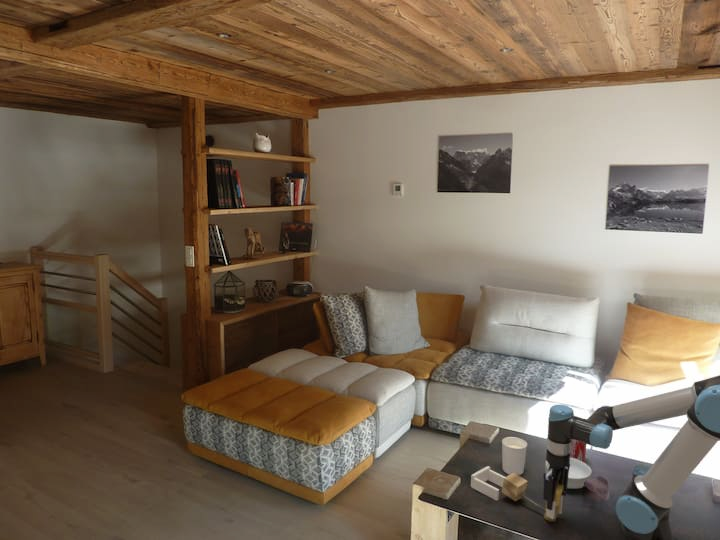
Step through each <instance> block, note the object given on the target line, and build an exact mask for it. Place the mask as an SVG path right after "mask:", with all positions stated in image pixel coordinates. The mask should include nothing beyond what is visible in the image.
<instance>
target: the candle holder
mask: <svg viewBox="0 0 720 540" xmlns="http://www.w3.org/2000/svg"><path fill="white" fill-rule="evenodd" d="M501 448H502V449H501V452H502V453H501V460H502V462H501V463H502V464H501V465H502V467H501V468H502V471H503V472H504V473H506V474H507V475H510V474H512V473H515V474H517V475H518V476H520V475H523V474H524V471H525V464H526V457H527V448H528V443H527V441H526V440H524V439H522V438H519V437H516V436H506V437H504V438H502V439H501Z"/></svg>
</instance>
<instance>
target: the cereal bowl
mask: <svg viewBox="0 0 720 540" xmlns="http://www.w3.org/2000/svg"><path fill="white" fill-rule="evenodd" d="M569 464H570V468H569V474H568V484H567V489H582V488H584V487H585V486H584V482H585V481H586V480H590V481H591V478H592V472H593V471H592V469H591V467H590V466H589V465H588V464H587V463H585V462H582V461H580V460H577V459H574V458H571V457H570V463H569ZM544 465H545V466H544V467H545V468H544V469H545V470H544V471H545V473H546V474H547V473H548V472H549V471H548V469H549V463H548V462H547V460H546V461H545V464H544ZM583 486H584V487H583Z"/></svg>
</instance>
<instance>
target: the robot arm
mask: <svg viewBox="0 0 720 540" xmlns="http://www.w3.org/2000/svg"><path fill="white" fill-rule="evenodd" d="M682 416H686V417H687V420H686V422H685V423H684V424H683V426H682V427H681V428H680V429H679V431H678V432H677V433H676V435H675V436H674V437H673V438H672V440H671V441H670V442H669V443H668V444H667V446H666V447H665V449H664V450H663V451H662V452H661V453H660V455H659V456H658V457H657V458H656V460H655V461H654V463H653V464H652V465H649V464H638V465H637V464H636V465H635V466H634V467H632V468H633V469H632V472H631V473H632V477H631V481H630V482H629V484H628V485H627V487H626V488H625V490H624V491H623V492H622V494H621V496H619V497H618V498H617V500H616V505H615V512H616V516H617V518H618V520H619V521H620V523H621V532H622V533H623V535H624V536H625V537H626V538H628V540H674V532H673V528H672V525H671V524H672V523H671V521H670V513H671V508H672V507H673V504H674V500H673V495H675V493H676V492H677V491H678V489H680V487H681V486H682V485H683V484H684V483H685V481H686V480H687V479H688V477H689V476H690V475H691V474H692V473H693V472H694V471H695V469H696V468H697V467H698V466H699V464H700V463H701V462H702V461H703V460H704V458H705V457H706V456H707V455H708V454H709V452H710V451H711V450H712V448H714V446H715V445H716V444H717V443H718V442H719V441H720V375H716V376H712V377H708V378H706V379H702V380H698V381H695V382H693V384H692V386H689V387H684V388H681V389H677V390H672V391H669V392H665V393H660V394H656V395H652V396H647V397H644V398H640V399H637V400H633V401H632V400H631V401H629V402H623V403H620V404H617V405H616V404H615V405H602V406H600V407H598V408H597V409H596V410H594V412H593V413H592V414H591V415H590V416H589V417H588V418H582V417H580V416H577V415H575V412H574V409H573V408H572V407H569V406H568V405H564V404H554V405H552V406H551V407H550V408H549V414H548V425H547V438H546V440H547V441H546V451H545V452H546V454H545V459H546V461H547V462H548V463H549V469H548V471H549V472H548V473H547V474H546V472H544V473H543V474H542V475H543V494H542V495H543V497H542V499H543V500H545V501H546V504H547V509H546V516H547V517H549V518H551V519H554V518H555V504H556V501H555V500H554V499H555V493H556V488H557V482H558V483H560V484H562V485H563V490H562V495H561V499H560V504H559V508H558V513H557V514H559V515H561V514H562V511H563V499H564V498H563V497H566V496H567V493H566V492H567V491H568V488H567V484H568V474H569V468H570V464H569V463H570V452H571V439H573V440H576V441H579V442H582V443H585V444H586V445H589V446H591V447H594V448H600V449H603V450H606V449H608V448H609V447H611V446H610V445H611V443H612V440H613V437H614V436H613V435H614V431H617V430H620V429H621V430H622V429H625V428H626V429H627V428H631V427H635V426H640V425H644V424H649V423H653V422H658V421H664V420H669V419H672V418H677V417H682Z"/></svg>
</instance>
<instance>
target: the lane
mask: <svg viewBox="0 0 720 540" xmlns="http://www.w3.org/2000/svg"><path fill="white" fill-rule="evenodd" d="M505 477H506V476H504V475H502V474H501V473H498V472H496V471H494V470H492V469H491V467H490V466H489V465H487V466H485V467H483V468H481V469H479V470H478V471H476V472H475V473H472V474H471V475H470V488H471V489H473V490H476V491H478V492H479V493H481V494H483V495H485V496H487V497H489V498H491V499H493V500H494V501H496V502H497V501H499V500H500V498H499V497H500V489H499V488H497V487H495V486H493V485H491V484H489V483H488V482H487V481H489V482H491V483H493V484H494V485H497V486H499V487H501V488H502V487H503V481H504V478H505Z"/></svg>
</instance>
